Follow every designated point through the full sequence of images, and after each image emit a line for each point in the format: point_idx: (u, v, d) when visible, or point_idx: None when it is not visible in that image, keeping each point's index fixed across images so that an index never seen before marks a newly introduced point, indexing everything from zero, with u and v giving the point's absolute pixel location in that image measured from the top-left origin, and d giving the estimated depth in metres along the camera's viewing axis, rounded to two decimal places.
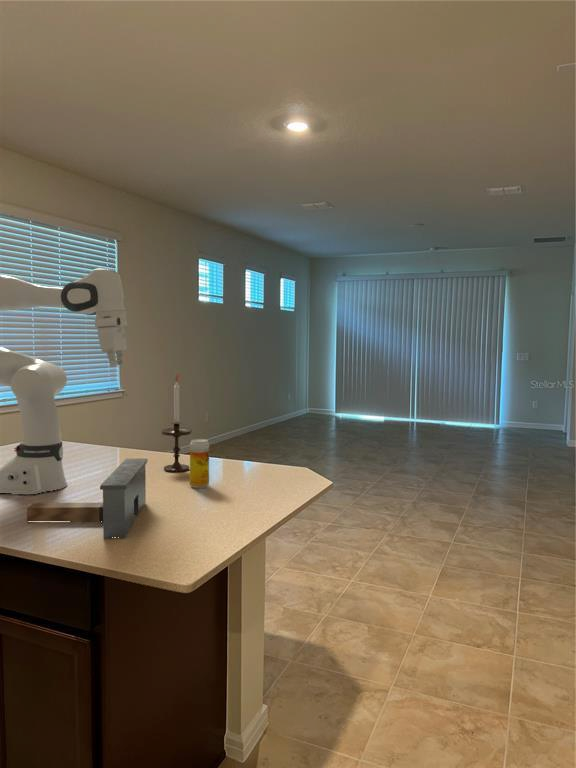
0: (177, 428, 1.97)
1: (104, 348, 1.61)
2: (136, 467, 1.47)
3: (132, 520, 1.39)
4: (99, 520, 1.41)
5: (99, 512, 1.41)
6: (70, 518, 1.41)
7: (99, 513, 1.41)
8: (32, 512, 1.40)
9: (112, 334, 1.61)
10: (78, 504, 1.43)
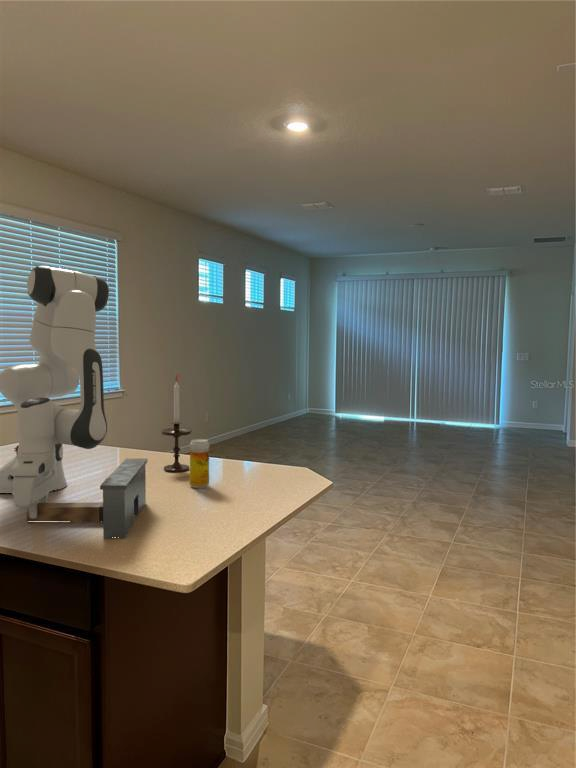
0: (177, 428, 1.97)
1: (18, 503, 1.31)
2: (136, 467, 1.47)
3: (132, 520, 1.39)
4: (99, 520, 1.41)
5: (99, 512, 1.41)
6: (70, 518, 1.41)
7: (99, 513, 1.41)
8: None
9: (30, 487, 1.32)
10: (78, 504, 1.43)
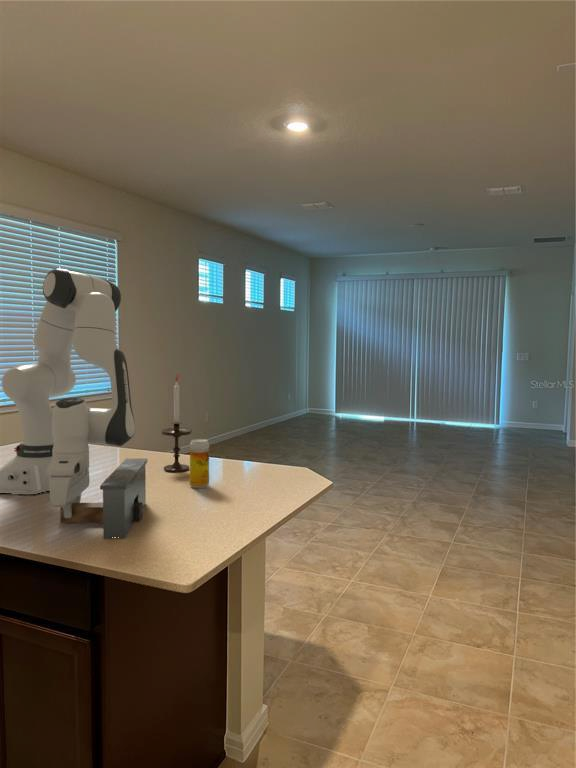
0: (177, 428, 1.97)
1: (55, 503, 1.32)
2: (136, 467, 1.47)
3: (132, 520, 1.39)
4: None
5: None
6: None
7: None
8: None
9: (66, 487, 1.32)
10: None
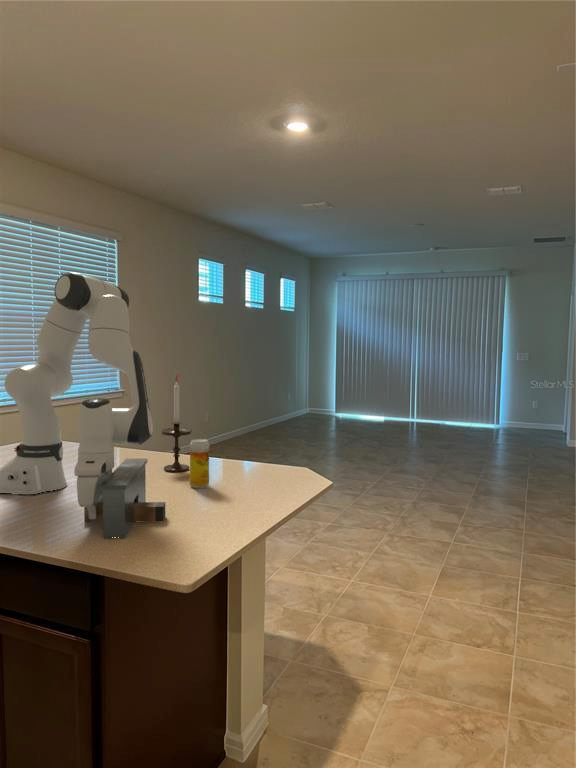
0: (177, 428, 1.97)
1: (82, 503, 1.33)
2: (136, 467, 1.47)
3: (132, 520, 1.39)
4: (155, 519, 1.43)
5: (155, 512, 1.42)
6: None
7: (155, 513, 1.42)
8: None
9: (94, 487, 1.33)
10: (134, 504, 1.44)
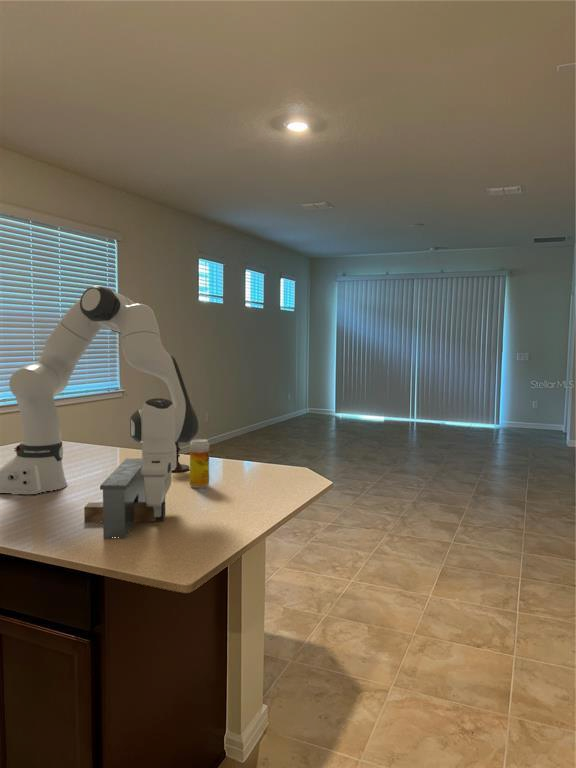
0: None
1: (150, 502, 1.34)
2: (136, 467, 1.47)
3: (132, 520, 1.39)
4: (155, 519, 1.43)
5: None
6: None
7: None
8: (90, 511, 1.41)
9: (161, 487, 1.34)
10: (134, 503, 1.44)
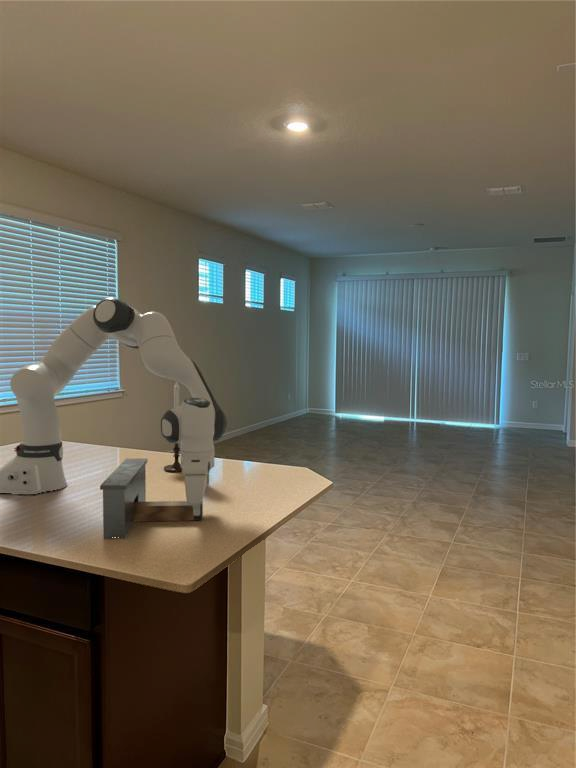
0: None
1: (191, 501, 1.35)
2: (136, 467, 1.47)
3: (132, 520, 1.39)
4: (194, 518, 1.43)
5: None
6: (166, 517, 1.43)
7: None
8: None
9: (202, 485, 1.35)
10: (172, 502, 1.45)
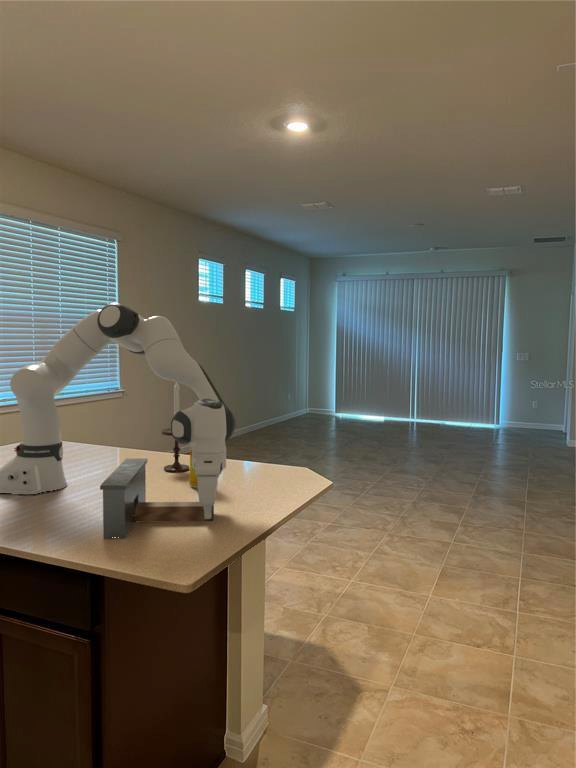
0: None
1: (203, 502, 1.35)
2: (136, 467, 1.47)
3: (132, 520, 1.39)
4: (205, 519, 1.44)
5: None
6: (177, 517, 1.43)
7: None
8: (140, 511, 1.42)
9: (214, 486, 1.36)
10: (183, 503, 1.45)
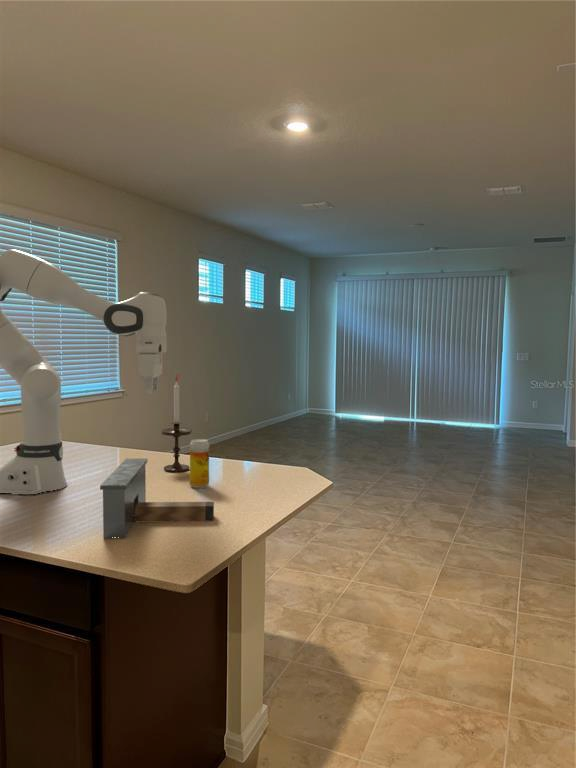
0: (177, 428, 1.97)
1: (143, 374, 1.57)
2: (136, 467, 1.47)
3: (132, 520, 1.39)
4: (205, 519, 1.44)
5: (205, 511, 1.44)
6: (177, 517, 1.43)
7: (205, 512, 1.44)
8: (140, 511, 1.42)
9: (153, 361, 1.57)
10: (183, 503, 1.45)
